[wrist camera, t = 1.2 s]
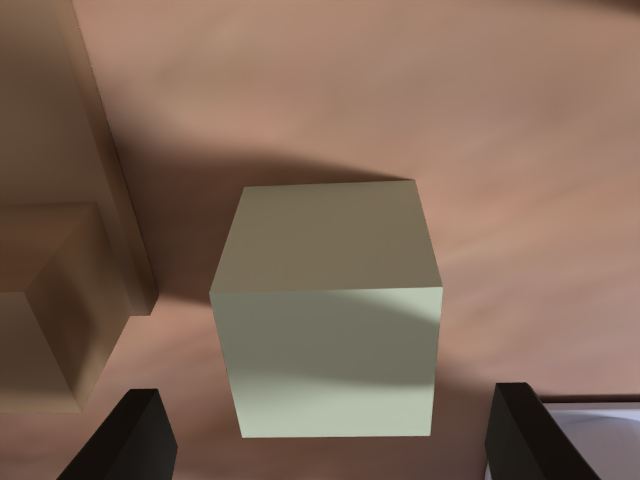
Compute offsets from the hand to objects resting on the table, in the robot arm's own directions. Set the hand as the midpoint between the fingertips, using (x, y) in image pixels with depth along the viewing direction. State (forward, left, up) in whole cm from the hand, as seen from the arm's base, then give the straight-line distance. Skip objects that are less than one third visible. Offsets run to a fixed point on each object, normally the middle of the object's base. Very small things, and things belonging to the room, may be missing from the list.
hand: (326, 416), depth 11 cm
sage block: (0, 0, -6) cm, 6 cm away
